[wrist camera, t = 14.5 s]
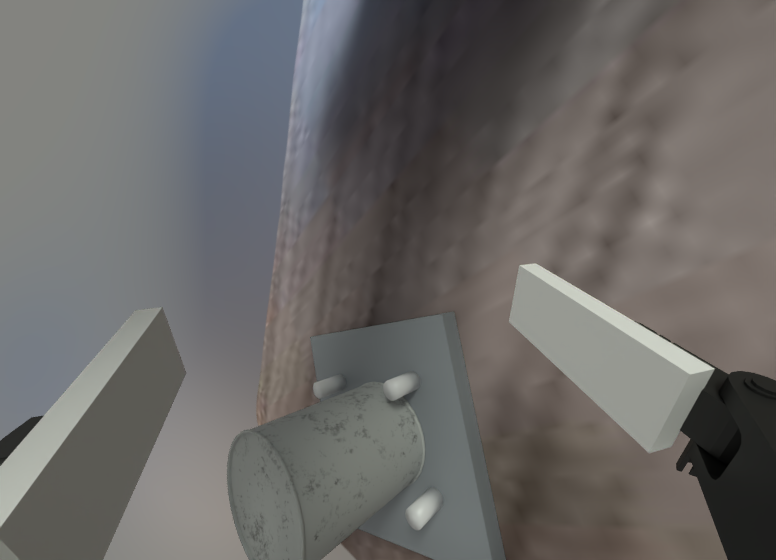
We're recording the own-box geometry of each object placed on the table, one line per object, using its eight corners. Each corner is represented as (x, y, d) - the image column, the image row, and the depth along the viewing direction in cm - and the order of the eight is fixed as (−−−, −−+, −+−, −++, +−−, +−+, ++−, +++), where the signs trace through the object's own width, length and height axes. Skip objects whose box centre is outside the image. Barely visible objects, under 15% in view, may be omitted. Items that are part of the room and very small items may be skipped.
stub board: (324, 334, 39) (287, 341, 35) (454, 311, 27) (420, 318, 24) (352, 510, 37) (316, 538, 33) (507, 565, 25) (479, 618, 21)
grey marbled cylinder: (336, 407, 35) (215, 458, 25) (387, 363, 30) (261, 406, 20) (379, 500, 31) (256, 600, 22) (446, 466, 26) (324, 578, 17)
